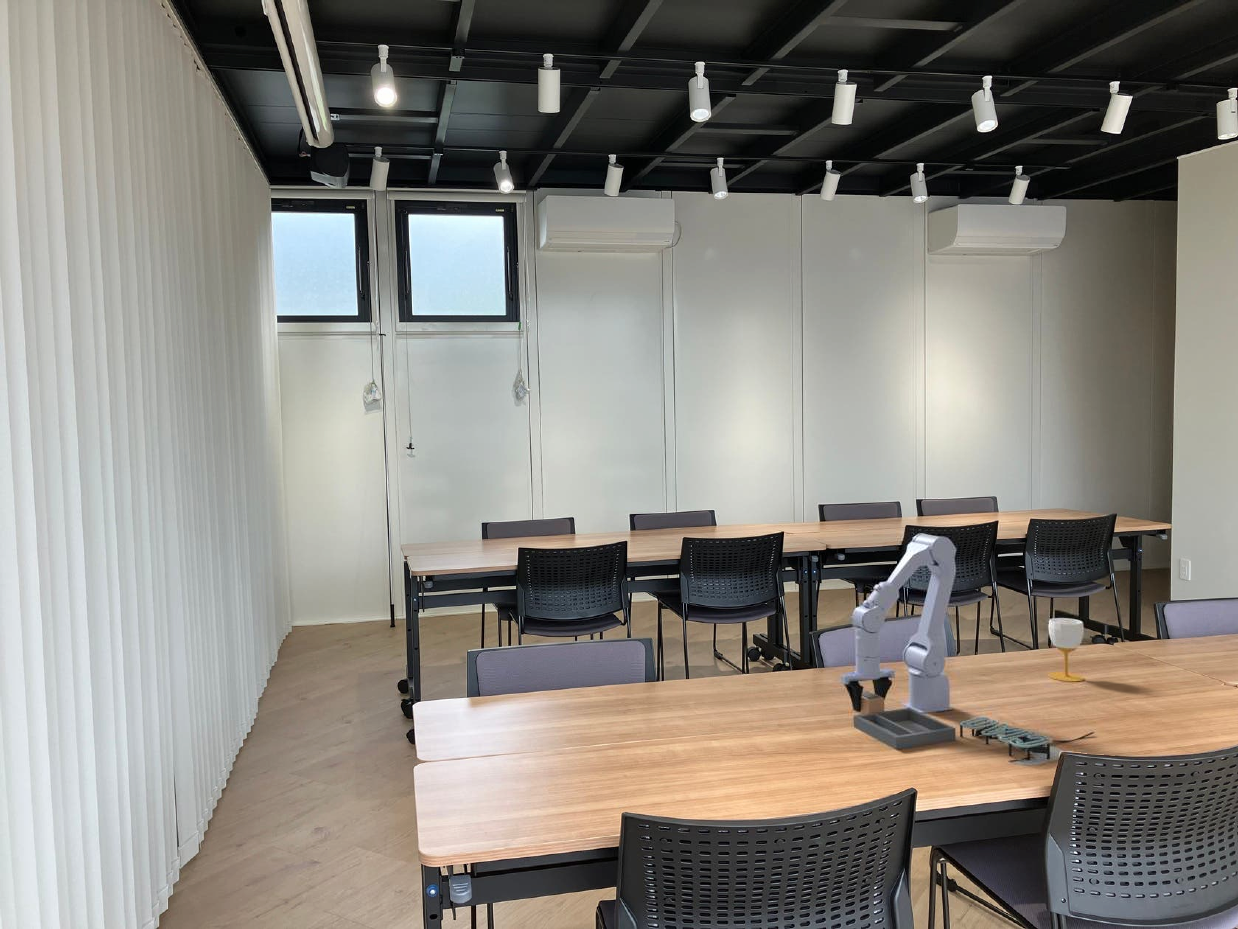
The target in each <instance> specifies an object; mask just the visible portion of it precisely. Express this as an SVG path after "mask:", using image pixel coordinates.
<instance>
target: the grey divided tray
mask: <svg viewBox="0 0 1238 929" xmlns="http://www.w3.org/2000/svg"><path fill="white" fill-rule="evenodd" d="M867 720H869V721H871V722H873V723H875V724H877V725H879V726H880V727H879V726H877V725H875V724H873V723H871V722H869V721H867ZM881 727H882V728H881ZM853 728H855V729H857V730H859V731H860V732H862V733H864V734H866V735H867V736H870V737H871V738H874V739H875V740H877V741H879V742H881V743H882V744H885V745H886V746H888V747H890V748H892V749H894V750H904V749H909V748H915V747H916V748H917V747H922V746H927V745H929V746H930V745H934V744H940V743H947V742H951V741H956V733H957V732H956V728H955V727H953V726H951V725H950V724H947V723H944V722H942V721H940V720H938V719H936V718H934V717H931V716H930V715H927V714H926V713H920V712H918V711H916V710H914V709H912V708H908V707H904V708H898V709H890V710H884V711H883V712H876V713H869V714H863V715H860V714H858V715H853ZM883 728H884V729H883ZM885 729H886V730H885ZM887 730H888V731H887ZM889 731H890V732H889ZM891 732H892V733H891ZM893 733H894V734H893ZM895 734H896V735H898V736H896V735H895Z"/></svg>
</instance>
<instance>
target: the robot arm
mask: <svg viewBox="0 0 1238 929" xmlns="http://www.w3.org/2000/svg"><path fill="white" fill-rule="evenodd" d="M956 553H957V547H956V546H955V545H954V543H953V542H952V541H951V539H950V538H948V537H946V536H938V535H933V534H932V535H931V534H927V533H923V532H921V533H918V534H916V535H915V536H913V538H912V540H911V541H910V542H909V543H908V544H907V546H906V551H905V554H904V555H903V557H901V559H900V560H899V563H898V564H897V566H895V568H894V570H893V571H892V572H891V575H890V576H889V577H888V579H887V580H886V581H880V582H879V583H878V584H875V585H874V586H873V591H872V592H871V593H870V595H869V596H868V597H867V598H866V600H864V601H863V602H862V605H859V606H857V607H855V609H854V610H853V612H852V615H851V616H850V617H849V619H850V622H851V625H852V626H853V627H854V628H853V629H854V633H855V634H854V635H855V637H854V638H855V642H854V643H855V645H854V646H855V670H854V671H851V672H847V673H844V674H843V673H842V674H840V683H841V684H843V686H844V687H845V689H846V690H847V693H848V696H849V697H850V700H851V706H852V705H853V709H854V710H855V711H857V712H861V697H862V691H864V688H865V687H864V686H863V685H861V683H860V682H866V681H867V682H868V681H871V682H872V684H873V685H872V686H873V689H874V694H876V695H878V696H880V697H882V698H884V702H886V701H885V700H886V697H887V694H888V692H889V690H890V688H891V687H892V685H893V681H892V680H891V679H894V678H895V677H896V676H895V673H896V672H895V670H894V669H891V668H881V667H880V666H881V665H880V657H881V656H880V630H882V628H884V625H885V619H886V616H887V613H888V612H889V611H890V610H891V608H892V607H893V606H894V604H895V603H896V602H897V601H898V599H899V597H900V591H899V590H900V588H902V586H903V585H904V584H905V583H906V582H907V581H908V580H909V579H910V577H912V575H913V574H914V573H915V572H916V571H917V570H918V569H919V567H924V566H927V568H928V570H929V571H930V572H931V574H930V579H929V582H928V588H927V592H926V596H925V599H924V605H923V607H922V608H923V609H922V613H921V617H920V620H919V625H918V630H917V632H916V633H915V634H912V635H911V637H909V642H908V644H907V645H906V647H905V648H904V650H903V652H902V659H903V663H904V664H905V666H907V671H908V701H906V702H902V703H901V705H902V706H904V707H905V708H912V709H914V710H916V711H918V712H920V713H923V714H926V713H927V714H928V713H937V712H943V711H944V712H945V711H950V710H952V709H953V707H952V706H950V704H951V703H950V699H951V697H950V695H951V694H950V691H951V689H950V682H949V678H948V677H947V675H946V674H945V673H944V672H943V671H944V669H945V666H946V659H945V652H946V648H945V646H944V644H943V641H942V640H941V637H942V636H941V635H942V631H943V628H944V623H945V619H946V614H947V610H948V607H949V602H950V598H951V594H952V590H953V585H954V582H955V577H956V574H957V567H956V560H955V559H956V558H955V557H956Z"/></svg>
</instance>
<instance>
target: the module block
mask: <svg viewBox="0 0 1238 929" xmlns="http://www.w3.org/2000/svg"><path fill="white" fill-rule="evenodd" d="M851 711H852V712H855V714H856V713H857V714H858V715H863V714H869V713H876V712H883V711H885V701H884V698H882V697H880V696H878V695H876V694H875V692H874V693H873V692H871V691H869V690H863V691H862V697H861V712H857V711H855V710H854V709H853V705H852V704H851Z"/></svg>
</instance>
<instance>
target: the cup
mask: <svg viewBox="0 0 1238 929" xmlns="http://www.w3.org/2000/svg"><path fill="white" fill-rule="evenodd" d="M1047 627H1048V635H1049V638H1050V640H1051V643H1052V645H1053V646H1054V647H1055V648H1056V649H1057V650H1059V651H1060V652H1062V653H1063V654H1064V664H1063V665H1064V671H1062V672H1061V671H1056V672H1050V673H1048V677H1049V678H1050V679H1052V678H1053V679H1052V680H1056V681H1060V682H1065V681H1068V683H1078V682H1077V681H1080V682H1082V681H1084V680H1085V677H1084V676H1082V675H1079V674H1077V673H1073V672H1069V664H1068V663H1069V662H1068V659H1069V657H1068V656H1069V654H1070V653H1071V652H1074V651H1076V649H1078V648H1079V647H1080V645H1081V643H1082V642H1083V638H1084V630H1085V628H1084V622H1083V621H1081V620H1079V619H1075V618H1069V617H1068V618H1067V617H1057V618H1056V617H1053V618H1049V620H1048V626H1047ZM1072 681H1073V682H1072Z"/></svg>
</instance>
